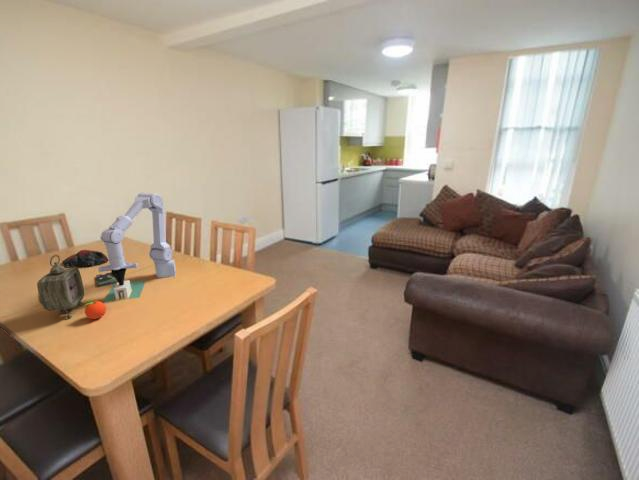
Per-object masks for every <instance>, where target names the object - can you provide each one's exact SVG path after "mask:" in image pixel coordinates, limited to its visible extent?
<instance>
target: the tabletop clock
mask: <svg viewBox="0 0 639 480" xmlns="http://www.w3.org/2000/svg"><path fill="white" fill-rule="evenodd" d="M55 257H57V258H58V260H57V261H56V262H53V259H54V258H55ZM52 262H53V263H52ZM60 262H61V257H60V255H58V254H54V255H52V256H51V257H50V260H49V265H50V266H51V268H50V270H49V273H47V274H45V275H43V276H42V277H41V278H40V279H39V280H38V281H37V283H36V285H37V291H38V295H39V299H40V300H39V301H40V303H41V305H42V307H43V309H44V310H46V311H49V312H53V311H58V313H59V314H64V312H65V313H66V318H67V319H71V318H72V317H73V316H72V314H71V313H69V309H75V308H76V307H77V306H78V305H82V304H84V303H83V298H84V296H85V287H84V283H83V279H82V276H81V273H80V269H79V268H77V267H71V268H66V266H64V265H63V266H62V265H60Z"/></svg>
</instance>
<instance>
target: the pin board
mask: <svg viewBox="0 0 639 480" xmlns="http://www.w3.org/2000/svg"><path fill="white" fill-rule="evenodd" d="M116 284H117V283H115V284H112V286H111V288H110V290H109V292H108V293H107V295H106V296H105V298H104V300H103V302H102V303H103V304H105V303H110V302H117V301H124V300H132V299H137V298H141V294H142V293H143V289H144V288H145V284H146V280H140V281H130V285H131V292H130V294H129V297H128V298H125V296H124V292H123V290H121V292H120V295H121V296H120V298H119V299H117V300H116V297H115V293H114V288H115V286H116Z"/></svg>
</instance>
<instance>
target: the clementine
mask: <svg viewBox="0 0 639 480" xmlns="http://www.w3.org/2000/svg"><path fill="white" fill-rule="evenodd" d="M83 307H85V308H84V315H85V316H86V317H87V318H89V319H90V320H91V319H92V320H97V319H100V318H102V317H103V316H104V315H105V313H106V310H107V307H106V305H105V303H103V302H101V301H97V300H94V301H91V302H88V303H85V304H84V305H83ZM82 310H83V308H81V311H82Z"/></svg>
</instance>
